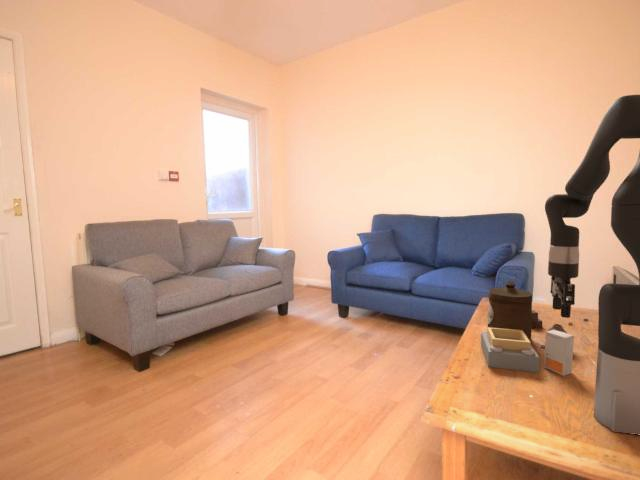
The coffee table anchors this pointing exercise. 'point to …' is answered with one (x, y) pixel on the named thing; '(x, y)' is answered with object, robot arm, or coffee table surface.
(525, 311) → the wooden container
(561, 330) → the vase
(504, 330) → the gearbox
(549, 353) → the skincare box
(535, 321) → the stack of crates
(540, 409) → the coffee table surface
